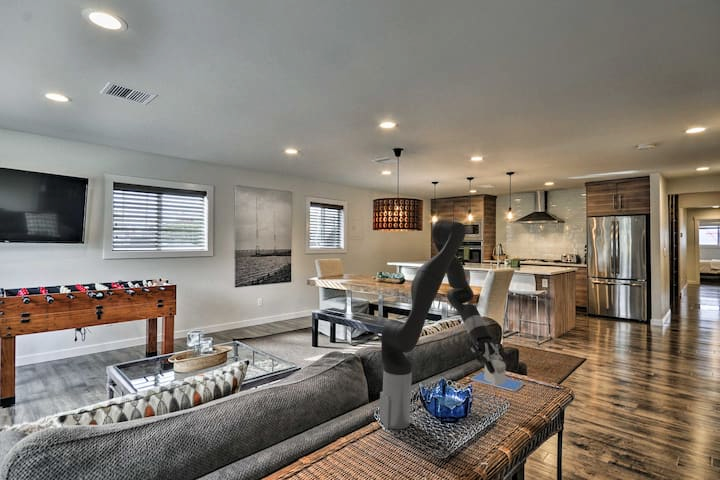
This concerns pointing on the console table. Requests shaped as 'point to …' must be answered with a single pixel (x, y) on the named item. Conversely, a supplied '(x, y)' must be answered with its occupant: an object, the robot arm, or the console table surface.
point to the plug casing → (499, 373)
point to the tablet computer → (508, 385)
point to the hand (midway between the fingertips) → (498, 371)
